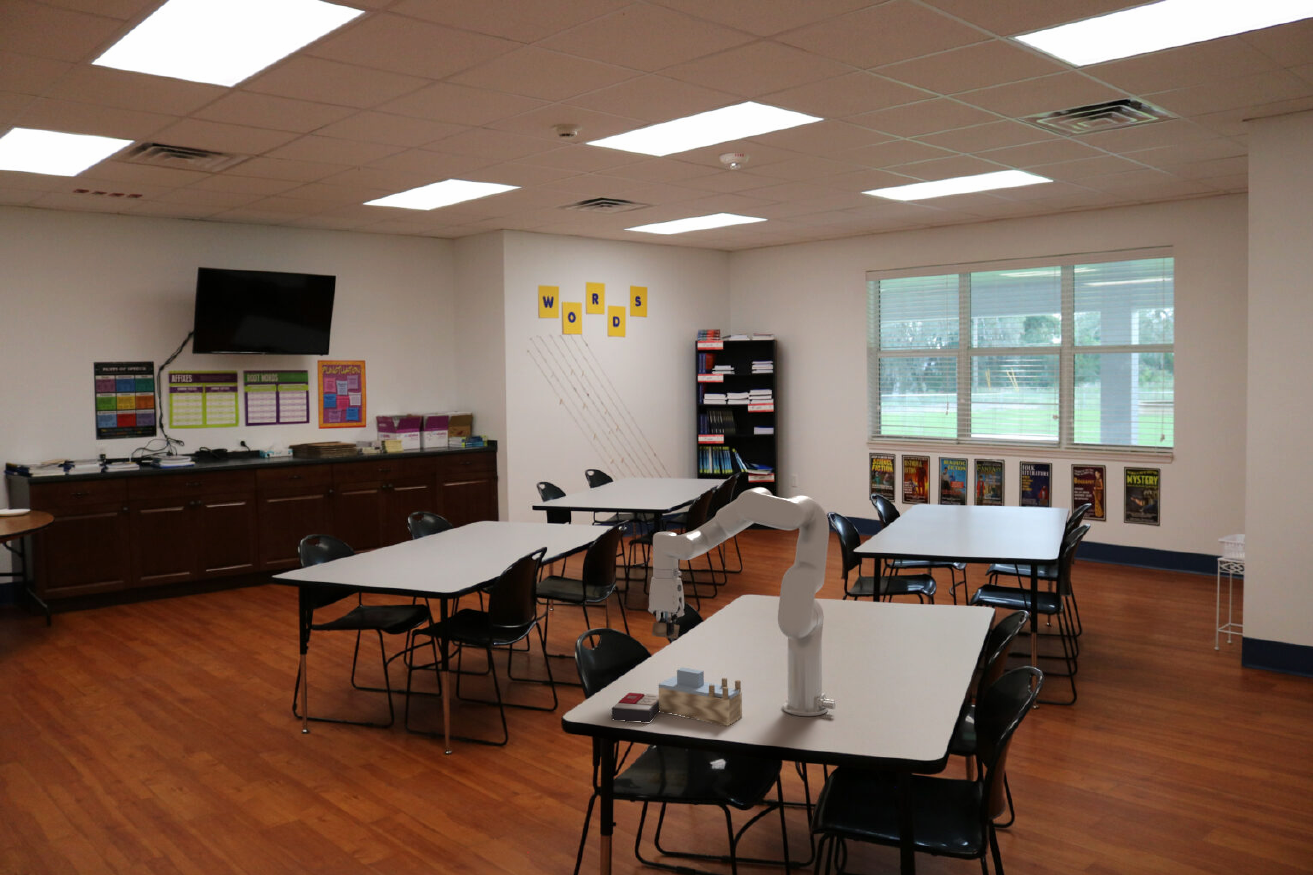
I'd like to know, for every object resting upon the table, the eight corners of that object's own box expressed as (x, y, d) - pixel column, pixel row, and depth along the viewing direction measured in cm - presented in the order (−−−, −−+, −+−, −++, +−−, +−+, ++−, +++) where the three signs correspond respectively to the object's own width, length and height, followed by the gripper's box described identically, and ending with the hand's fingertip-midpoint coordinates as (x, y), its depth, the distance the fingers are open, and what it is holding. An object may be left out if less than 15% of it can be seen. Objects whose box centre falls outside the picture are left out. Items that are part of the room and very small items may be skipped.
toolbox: (742, 717, 255) (741, 680, 254) (727, 726, 248) (727, 688, 247) (674, 703, 267) (673, 668, 266) (659, 711, 260) (658, 676, 260)
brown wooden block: (677, 638, 281) (679, 625, 282) (658, 636, 272) (660, 622, 273) (671, 637, 282) (672, 624, 283) (651, 635, 273) (653, 621, 274)
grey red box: (664, 693, 266) (649, 708, 251) (664, 708, 266) (649, 724, 251) (627, 691, 269) (611, 705, 254) (627, 705, 269) (611, 720, 254)
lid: (741, 692, 254) (741, 674, 254) (727, 700, 248) (727, 682, 247) (673, 679, 266) (673, 662, 266) (658, 687, 260) (658, 669, 259)
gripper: (695, 574, 276) (695, 635, 277) (650, 568, 285) (651, 628, 285) (681, 578, 269) (682, 640, 270) (636, 572, 278) (637, 633, 279)
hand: (666, 633), depth 278 cm, fingers closed on brown wooden block, 2 cm apart
